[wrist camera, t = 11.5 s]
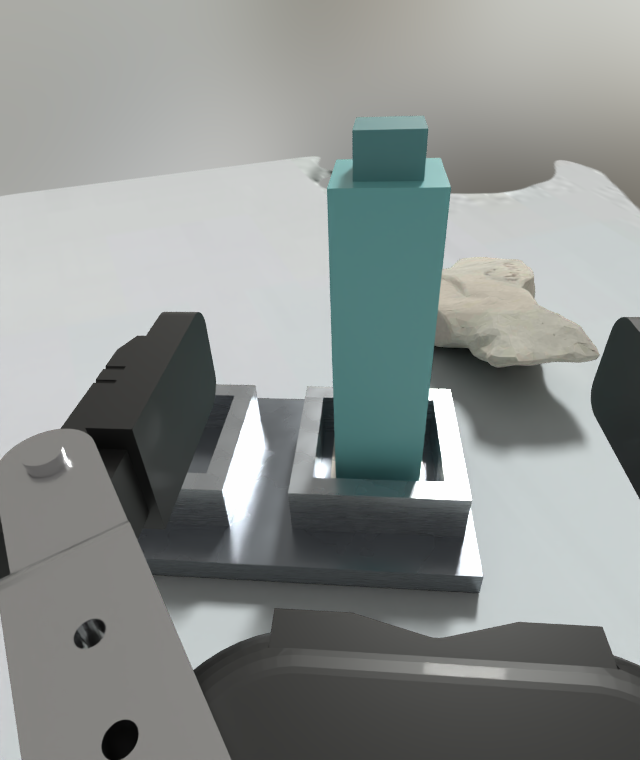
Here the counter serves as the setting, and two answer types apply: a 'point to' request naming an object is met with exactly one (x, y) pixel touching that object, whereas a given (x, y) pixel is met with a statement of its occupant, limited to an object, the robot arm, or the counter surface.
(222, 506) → the panel
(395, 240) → the plug
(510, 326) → the rock
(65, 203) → the counter surface
